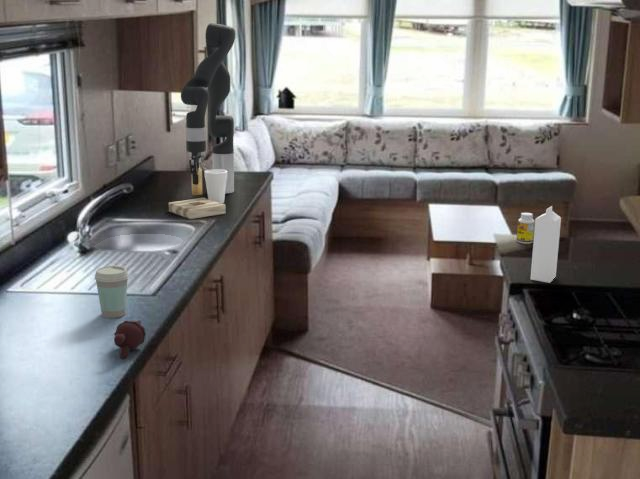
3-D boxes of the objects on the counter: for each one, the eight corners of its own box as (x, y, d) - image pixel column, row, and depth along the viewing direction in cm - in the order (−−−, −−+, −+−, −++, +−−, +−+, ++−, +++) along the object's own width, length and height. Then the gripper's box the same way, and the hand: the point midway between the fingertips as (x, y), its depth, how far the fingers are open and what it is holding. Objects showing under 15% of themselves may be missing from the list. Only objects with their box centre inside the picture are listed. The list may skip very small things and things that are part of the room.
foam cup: (229, 200, 352) (229, 169, 348) (225, 205, 343) (224, 173, 339) (207, 199, 353) (207, 168, 349) (202, 204, 344) (201, 172, 340)
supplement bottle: (513, 240, 296) (515, 212, 293) (527, 239, 297) (529, 211, 295) (522, 244, 290) (524, 216, 288) (535, 243, 292) (538, 215, 290)
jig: (168, 211, 331) (168, 202, 330) (203, 206, 341) (203, 197, 340) (190, 219, 319) (189, 210, 318) (225, 213, 329) (225, 204, 328)
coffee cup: (132, 318, 215) (130, 273, 212) (98, 321, 212) (95, 276, 209) (128, 307, 223) (126, 263, 220) (95, 310, 220) (92, 266, 217)
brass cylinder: (190, 193, 328) (189, 168, 325) (198, 192, 330) (198, 167, 328) (195, 195, 325) (194, 169, 322) (204, 194, 327) (203, 168, 325)
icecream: (121, 310, 202) (98, 338, 188) (149, 305, 200) (129, 333, 186) (130, 336, 204) (108, 366, 190) (158, 331, 203) (138, 360, 189)
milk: (555, 278, 254) (562, 207, 248) (549, 283, 249) (556, 210, 243) (535, 274, 257) (542, 204, 251) (529, 279, 252) (536, 207, 246)
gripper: (201, 142, 315) (202, 187, 319) (209, 137, 329) (210, 180, 333) (181, 141, 316) (183, 186, 320) (190, 136, 329) (191, 179, 334)
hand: (197, 183), depth 326 cm, fingers closed on brass cylinder, 4 cm apart
